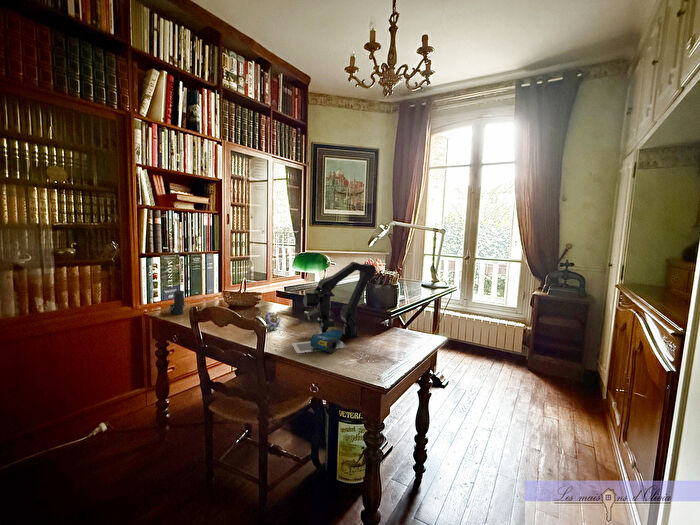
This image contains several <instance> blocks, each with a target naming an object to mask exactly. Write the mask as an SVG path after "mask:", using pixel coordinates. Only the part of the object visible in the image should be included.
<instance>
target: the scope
mask: <svg viewBox="0 0 700 525" xmlns="http://www.w3.org/2000/svg"><path fill="white" fill-rule="evenodd" d="M173 294H174V295H173V304H170V305H169V307H168V309H167V311H168V312H170V314H174V315H177V316H182V315H184V308H185V307H186V303H185V291H184V290H175V291H174V292H173Z"/></svg>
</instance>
